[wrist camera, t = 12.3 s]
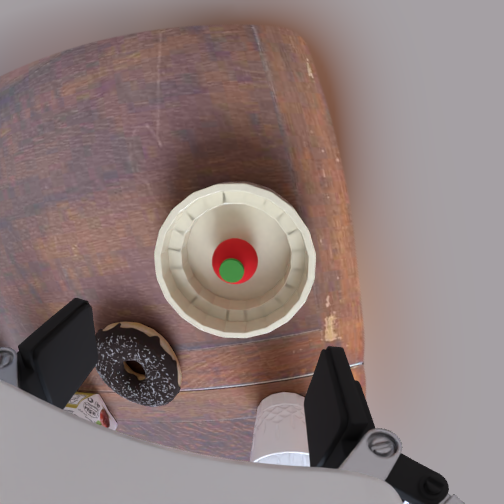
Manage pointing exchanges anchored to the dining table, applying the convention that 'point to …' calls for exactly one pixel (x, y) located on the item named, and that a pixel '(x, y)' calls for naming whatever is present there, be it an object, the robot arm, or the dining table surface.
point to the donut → (147, 354)
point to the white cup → (281, 431)
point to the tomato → (234, 261)
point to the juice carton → (91, 409)
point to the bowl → (254, 232)
